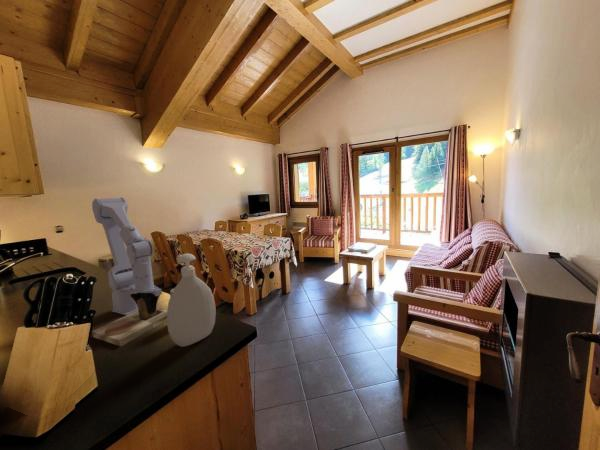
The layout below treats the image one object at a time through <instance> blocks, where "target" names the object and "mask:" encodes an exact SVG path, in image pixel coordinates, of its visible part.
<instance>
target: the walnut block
mask: <svg viewBox="0 0 600 450" xmlns="http://www.w3.org/2000/svg"><path fill="white" fill-rule="evenodd" d="M137 305H138V312H139V319H140V320H144V321H146V320H148V319H150V318H152V317H154V316H156V315H157V308H158V307H157V308H156V311H155V312H154V313H152V314H149V313H148V310H147V306H146V303H145V302H144V300H143V299H142V298H141V299H139V300H137Z"/></svg>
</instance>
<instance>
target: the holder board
mask: <svg viewBox="0 0 600 450" xmlns="http://www.w3.org/2000/svg"><path fill="white" fill-rule="evenodd" d="M156 308H157V315H156V316H154V317H152V318H150V319H148V320H146V321H144V320H140V319H139V312H138V310H137V311H135V312H133V313H131V314H128V315H124V316H123V317H120V318H118V319H116V320H114V321H111V322H109V323H107V324H105V325H103V326H100V327H99V328H96V329H94V330H92V331H91V333H92V337H93V338H95V339H97V340H101V341H103V342H106V343H109V344H112V345H115V346H118V347H122V346H125V345H126V344H128V343H129V342H131V341H134V340H135V339H137V338H139V337H140V336H142V335H144V334H145V333H147V332H150V331H151V330H153V329H155V328H156V327H159V326H160V325H162V324H163V323H167V310H168V309H167V308H166V309H165V308H160V307H157V306H156Z"/></svg>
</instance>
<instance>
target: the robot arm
mask: <svg viewBox="0 0 600 450" xmlns="http://www.w3.org/2000/svg"><path fill="white" fill-rule="evenodd" d="M91 203H92V204H91V206H92V213H93V216H94V219H95V221H96V223H97V224H101V226H102V227H103V229H104V233H105V237H106V241H107V244H108V247H109V250H110V253H111V254H110V255H111V258H112V260H113V264H114V265H113V266H112V267H111V268H110V269H109V270H108V272H107V276H108V284H109V288H111V291H112V293H111V298H112V299H111V300H112V306H113V307H112V308H113V309H111V312H112V313H117V314H120V315H124V316H127V315H129V314H131V313H133V312H135V311H137V310H138V305H137V300H139V299H141V298H142V299H143V300H144V302H145V303H146V306H147V310H148V313H149V314H152V313H154V312H155V311H156V307H157V303H158V300H159V298H160V296H161V295H163V290H162V288H160V287H158V286H156V285H155V284H154V283H155V282H154V275H153V268H152V260H151V259H152V258H151V256H152V255H153V252H154V251H153V244H152V243H151V241H150V240H149V239H147V238H146V237H145V238H144V237H143V235H142V233H141V232H140V230H139V228H138V227H137V226H135V225H132V222H131V221H130V218H129V216H128V214H127V213H128V208H129V207H128V206H129V205H128V202H127V200H126V199H125V198H124V197H113V198H94V199H93V200H92V202H91Z"/></svg>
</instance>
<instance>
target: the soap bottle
mask: <svg viewBox="0 0 600 450" xmlns="http://www.w3.org/2000/svg"><path fill="white" fill-rule="evenodd" d="M195 260H197V258H196V256H195V255H194V254H192V253H187V252H186V253H183V254H179V255H177V262H178V263H184V264H185V266H182V267H181V268H180V272H181V278H180V280H179V282H178V283H177V284H176V286H175V287H174V288H175V289H174V291H173V293H172V295H171V298H169V300H168V306H167V309H166V310H167V321H166V324H167V331H168V334H169V336H170V339H171V341H173V343H175V345H177V346H179V347H181V348H184V347H188V346H191V345H193V344H195V343H198V342H200V341H202V340H203V339H205V338H207V337H208V336H210V335H211V333H213V332H212V331H213V329H214V327H215V324H216V316H217V312H216V311H217V310H216V303H215V302H216V301H215V297H214V295H213V292H212V289H211V288H210V287H209V286H208V285H207V284H206V283H205V281H203V280H202V279H200V278H199V277H198V276H197V274H196V267H194V265H192V264H191V265H190V262H193V261H195Z"/></svg>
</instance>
